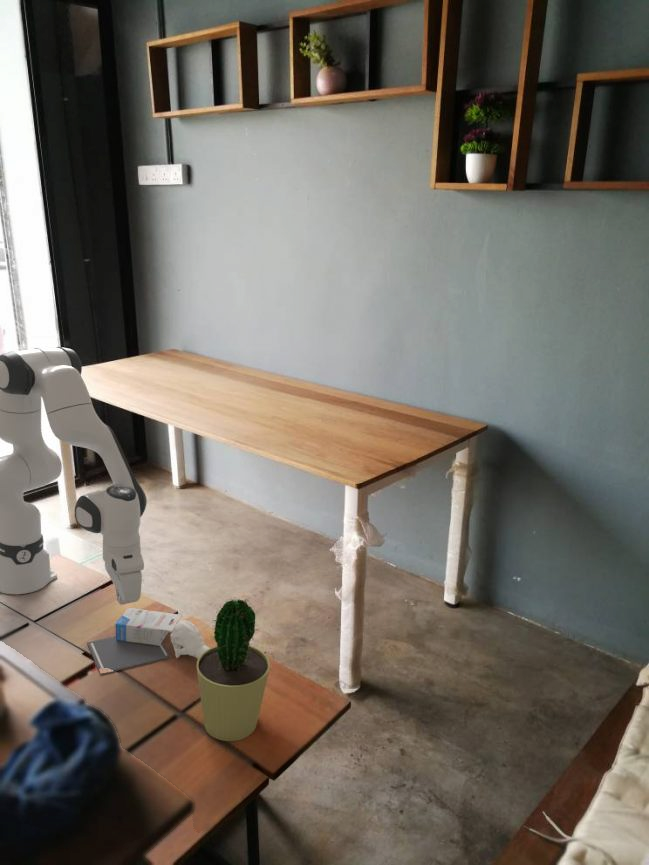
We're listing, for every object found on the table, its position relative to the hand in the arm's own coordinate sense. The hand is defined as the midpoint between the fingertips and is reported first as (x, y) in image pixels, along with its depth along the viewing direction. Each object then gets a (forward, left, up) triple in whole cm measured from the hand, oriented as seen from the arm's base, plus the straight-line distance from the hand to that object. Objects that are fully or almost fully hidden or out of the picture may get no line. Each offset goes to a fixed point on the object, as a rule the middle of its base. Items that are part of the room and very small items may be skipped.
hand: (121, 601), depth 172 cm
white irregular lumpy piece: (+14, +14, -11) cm, 23 cm away
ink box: (-4, +1, -8) cm, 9 cm away
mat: (+5, 0, -11) cm, 12 cm away
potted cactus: (+40, +13, -11) cm, 44 cm away
